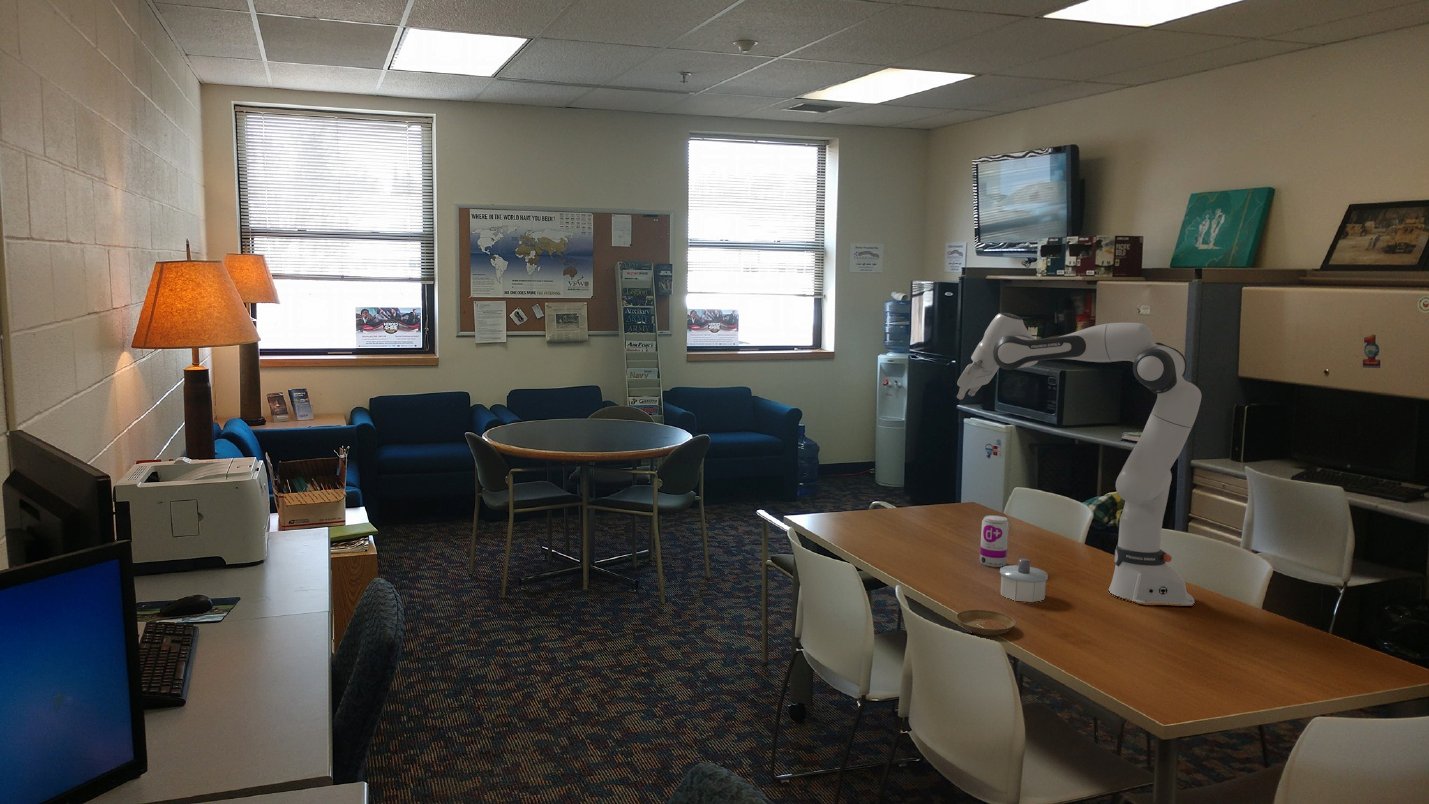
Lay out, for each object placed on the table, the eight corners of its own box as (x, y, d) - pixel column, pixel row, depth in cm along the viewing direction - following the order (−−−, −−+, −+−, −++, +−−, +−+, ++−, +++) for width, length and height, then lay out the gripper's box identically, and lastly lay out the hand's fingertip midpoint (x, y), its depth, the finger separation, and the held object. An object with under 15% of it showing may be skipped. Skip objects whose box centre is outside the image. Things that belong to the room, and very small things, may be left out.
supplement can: (1000, 569, 299) (1003, 522, 298) (975, 564, 304) (978, 518, 302) (1010, 563, 306) (1013, 517, 304) (985, 558, 311) (988, 513, 309)
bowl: (1041, 591, 278) (1042, 571, 277) (1046, 604, 267) (1047, 583, 266) (999, 587, 280) (1000, 567, 280) (1002, 600, 269) (1004, 579, 269)
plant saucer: (958, 636, 241) (958, 626, 241) (953, 616, 255) (953, 607, 255) (1019, 641, 239) (1019, 631, 238) (1010, 621, 253) (1011, 611, 253)
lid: (1044, 571, 278) (1045, 555, 277) (1050, 584, 265) (1051, 568, 265) (998, 567, 281) (999, 552, 280) (1001, 580, 268) (1002, 564, 267)
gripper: (982, 367, 290) (960, 405, 295) (1005, 362, 306) (984, 398, 312) (965, 356, 292) (943, 395, 298) (989, 352, 309) (968, 388, 314)
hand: (965, 396), depth 305 cm, fingers open, 8 cm apart
